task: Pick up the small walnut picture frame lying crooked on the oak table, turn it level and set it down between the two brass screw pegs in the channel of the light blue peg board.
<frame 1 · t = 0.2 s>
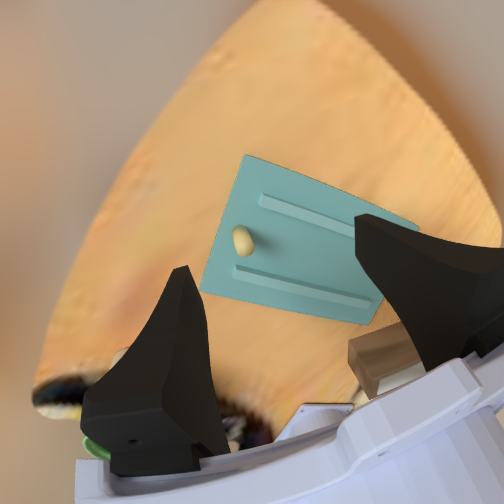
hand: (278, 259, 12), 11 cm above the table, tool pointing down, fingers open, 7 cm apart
walnut frame: (387, 337, 31), on the table
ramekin: (122, 424, 31), on the table
light blue peg board: (318, 253, 25), on the table
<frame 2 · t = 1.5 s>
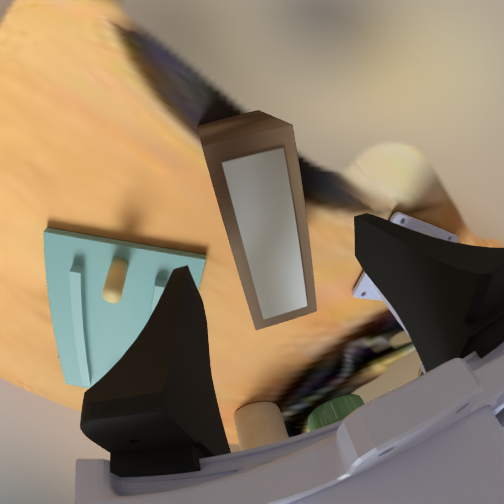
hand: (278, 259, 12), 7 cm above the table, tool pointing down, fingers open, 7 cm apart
walnut frame: (246, 195, 18), on the table
candle: (256, 410, 33), on the table
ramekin: (333, 407, 37), on the table
light blue peg board: (117, 332, 22), on the table
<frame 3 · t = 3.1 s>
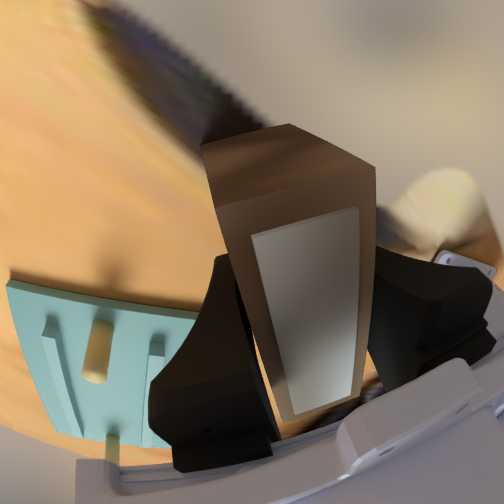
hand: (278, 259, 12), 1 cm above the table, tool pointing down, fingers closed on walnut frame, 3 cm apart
walnut frame: (269, 242, 14), on the table, touching gripper
light blue peg board: (108, 390, 17), on the table
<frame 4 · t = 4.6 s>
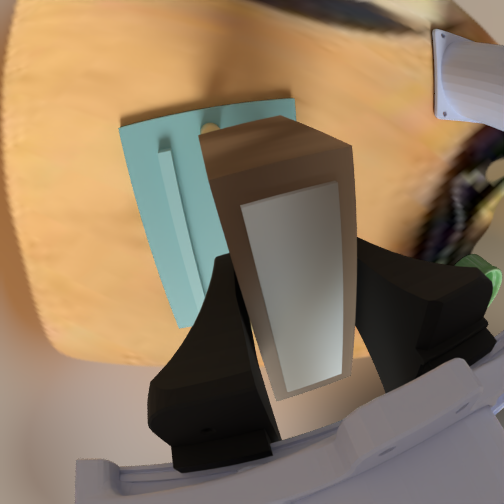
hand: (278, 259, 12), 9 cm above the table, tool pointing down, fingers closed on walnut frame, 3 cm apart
walnut frame: (262, 227, 14), point 7 cm above the table, touching gripper
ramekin: (458, 278, 32), on the table
light blue peg board: (224, 226, 22), on the table
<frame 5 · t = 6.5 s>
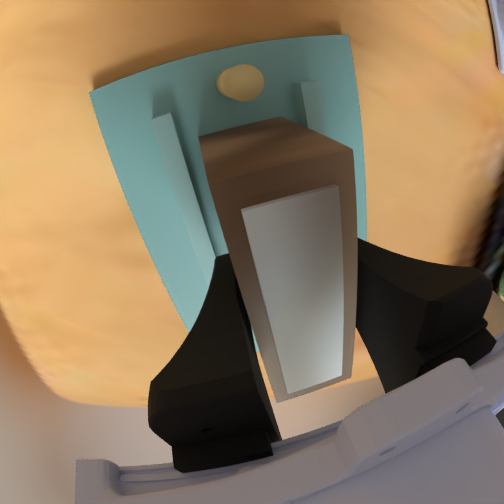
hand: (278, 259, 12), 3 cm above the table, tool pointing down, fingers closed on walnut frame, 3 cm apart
walnut frame: (263, 229, 14), point 1 cm above the table, touching gripper, light blue peg board
candle: (453, 293, 23), on the table
light blue peg board: (261, 225, 15), on the table
when the fingers open (3 cm above the table, at t = 6.9 s): walnut frame stays where it is, resting on light blue peg board.
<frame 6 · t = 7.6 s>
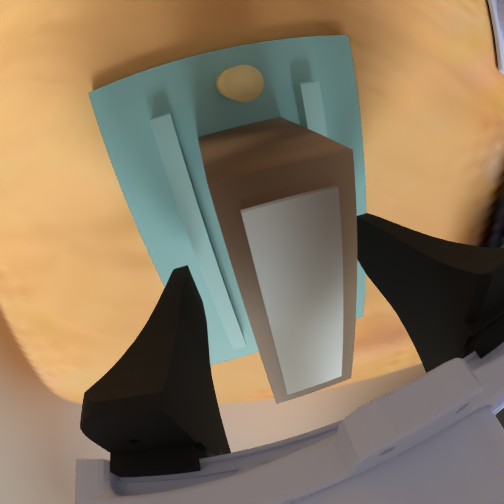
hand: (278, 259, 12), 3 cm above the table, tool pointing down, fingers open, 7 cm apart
walnut frame: (263, 229, 14), point 1 cm above the table, touching light blue peg board
light blue peg board: (261, 226, 15), on the table
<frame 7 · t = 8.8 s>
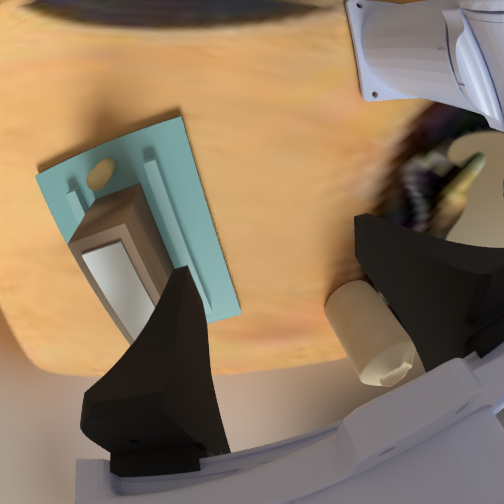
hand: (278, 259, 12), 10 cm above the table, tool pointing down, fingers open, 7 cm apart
walnut frame: (143, 252, 21), point 1 cm above the table, touching light blue peg board
candle: (347, 299, 30), on the table
light blue peg board: (144, 249, 22), on the table
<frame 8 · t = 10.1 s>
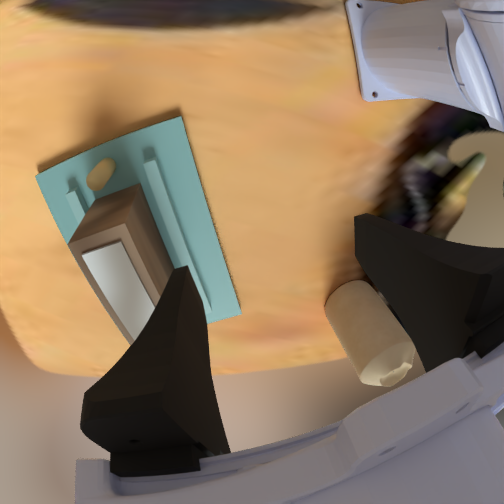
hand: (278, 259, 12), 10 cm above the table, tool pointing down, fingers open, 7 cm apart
walnut frame: (143, 252, 21), point 1 cm above the table, touching light blue peg board
candle: (347, 299, 30), on the table
light blue peg board: (144, 249, 22), on the table
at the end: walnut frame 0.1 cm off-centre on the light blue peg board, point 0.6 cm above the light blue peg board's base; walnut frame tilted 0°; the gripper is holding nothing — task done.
